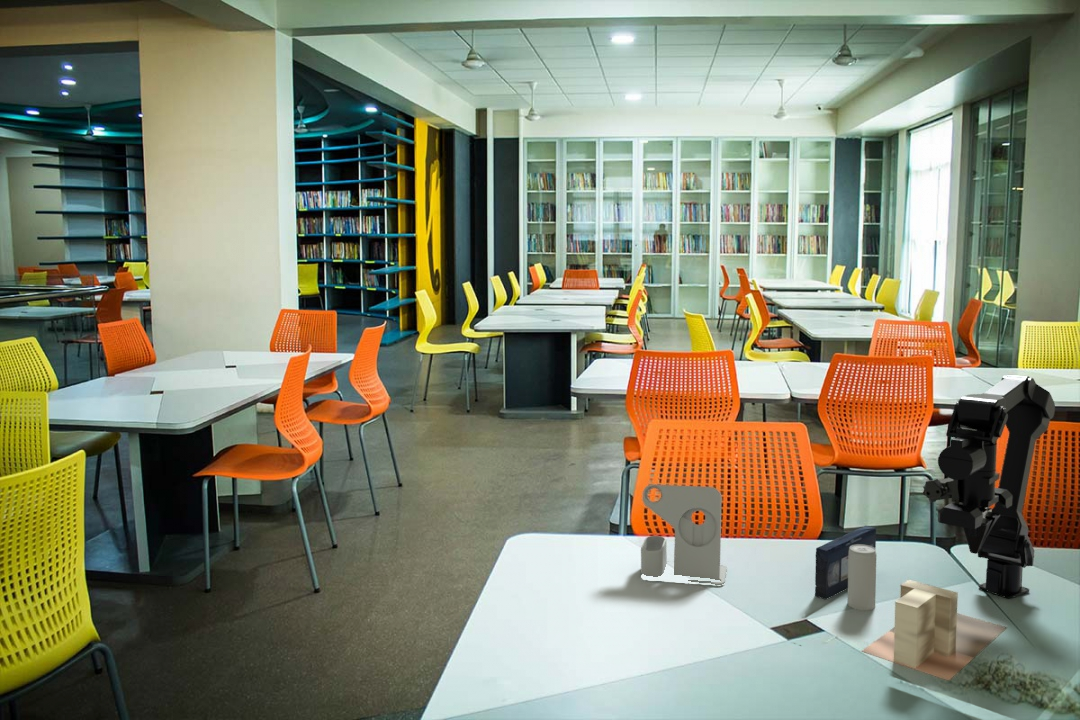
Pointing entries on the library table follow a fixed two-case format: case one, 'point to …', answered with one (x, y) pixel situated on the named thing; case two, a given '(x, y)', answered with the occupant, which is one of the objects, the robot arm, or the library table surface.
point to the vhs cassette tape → (838, 561)
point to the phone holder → (686, 533)
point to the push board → (968, 645)
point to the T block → (924, 623)
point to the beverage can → (862, 577)
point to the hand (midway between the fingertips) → (974, 552)
